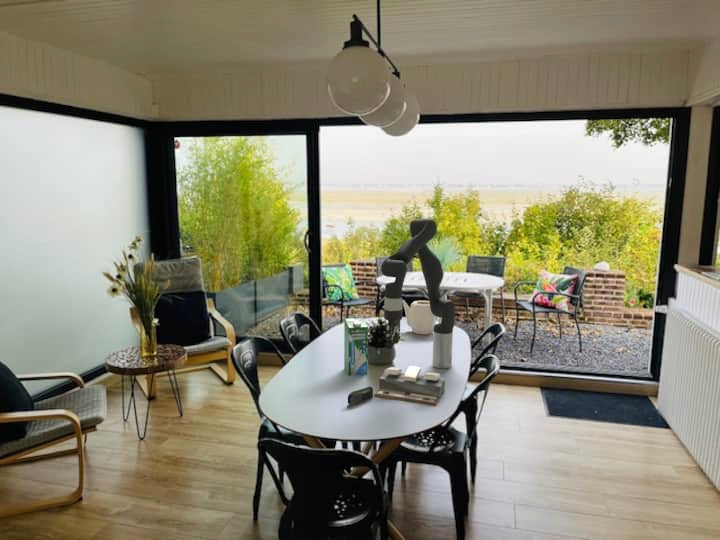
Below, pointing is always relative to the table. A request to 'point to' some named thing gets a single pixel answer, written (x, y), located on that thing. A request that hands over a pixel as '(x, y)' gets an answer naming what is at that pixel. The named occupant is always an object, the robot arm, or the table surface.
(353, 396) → the mobile phone
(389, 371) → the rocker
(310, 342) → the table surface
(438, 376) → the cream box
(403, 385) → the switch box
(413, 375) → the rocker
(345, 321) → the milk carton
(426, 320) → the watering can
